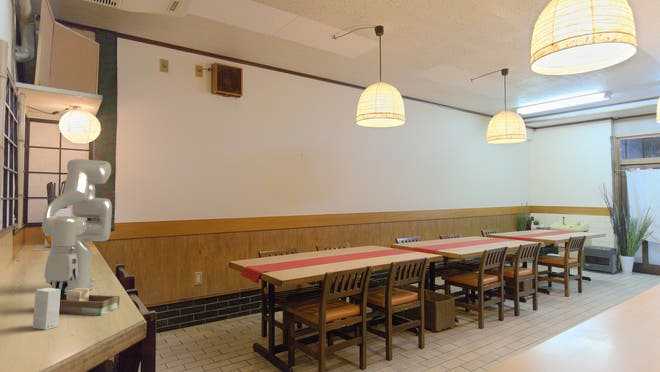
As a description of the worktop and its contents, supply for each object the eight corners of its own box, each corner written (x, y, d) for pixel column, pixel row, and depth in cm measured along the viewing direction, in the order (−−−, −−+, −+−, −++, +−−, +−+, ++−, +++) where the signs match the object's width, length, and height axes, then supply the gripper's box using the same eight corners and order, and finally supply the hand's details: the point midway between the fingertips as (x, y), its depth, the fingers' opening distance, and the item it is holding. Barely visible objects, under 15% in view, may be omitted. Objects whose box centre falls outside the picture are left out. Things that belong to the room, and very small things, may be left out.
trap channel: (56, 305, 147) (57, 293, 147) (118, 308, 146) (119, 296, 146) (34, 312, 137) (35, 299, 137) (101, 315, 135) (102, 302, 135)
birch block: (75, 301, 144) (76, 288, 144) (88, 302, 144) (89, 288, 144) (65, 304, 139) (67, 290, 139) (79, 305, 139) (80, 291, 139)
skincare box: (58, 326, 122) (61, 289, 123) (44, 330, 118) (48, 291, 119) (45, 324, 124) (48, 287, 125) (31, 327, 120) (34, 289, 121)
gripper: (88, 250, 146) (85, 298, 145) (51, 248, 147) (47, 296, 146) (74, 252, 139) (70, 303, 138) (35, 250, 140) (31, 301, 138)
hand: (58, 299), depth 142 cm, fingers closed
